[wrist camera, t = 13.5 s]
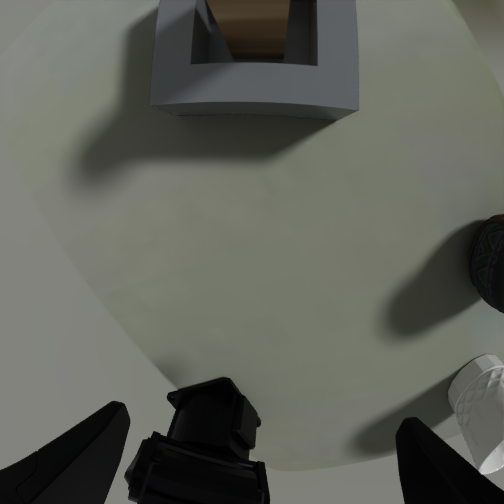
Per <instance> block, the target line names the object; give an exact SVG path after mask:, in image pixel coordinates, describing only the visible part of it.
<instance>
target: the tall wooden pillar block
mask: <svg viewBox="0 0 504 504" xmlns="http://www.w3.org/2000/svg"><path fill="white" fill-rule="evenodd" d="M206 1H207V3H208V5H209V7H210V9H211V11H212V14H213V16H214V18H215V20H216V22H217V24H218V26H219V29H220V31H221V33H222V35H223V37H224V40H225V42H226V44H227V46H228V48H229V51H230V53H231V55H232V57H233V59H250V58H254V59H284V51H285V42H286V33H287V23H288V14H289V5H290V0H206Z"/></svg>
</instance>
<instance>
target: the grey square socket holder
mask: <svg viewBox="0 0 504 504" xmlns="http://www.w3.org/2000/svg"><path fill="white" fill-rule="evenodd" d="M149 106H152V107H155V108H158V109H161V110H163V111H166V112H169V113H172V114H175V115H177V116H181V115H209V114H250V115H278V116H295V117H309V118H320V119H330V120H340V119H342V118H344V117H346V116H348V115H350V114H352V113H354V112H356V111H358V110H359V54H358V30H357V14H356V1H355V0H290V5H289V14H288V23H287V33H286V42H285V51H284V59H254V58H250V59H233V57H232V55H231V53H230V51H229V48H228V46H227V44H226V42H225V40H224V37H223V35H222V33H221V31H220V29H219V26H218V24H217V22H216V20H215V18H214V16H213V14H212V11H211V9H210V7H209V5H208V3H207V1H206V0H160V2H159V9H158V16H157V23H156V31H155V40H154V49H153V60H152V71H151V85H150V102H149Z"/></svg>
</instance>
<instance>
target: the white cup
mask: <svg viewBox="0 0 504 504" xmlns="http://www.w3.org/2000/svg"><path fill="white" fill-rule="evenodd" d="M448 401H449V403H450V405H451V407H452V409H453V411H454V413H455V415H456V419H457V422H458V424H459V426H460V428H461V431H462V434H463V436H464V439H465V441H466V443H467V445H468V448H469V450H470V453H471V455H472V457H473V460H474V462H475V465H476V467H477V470H478V471H479V472H480V473H481V474H483V475H486V474H490V473H492V472H494V471H497V470H499V469H501V468H502V467H504V365H503V363H502V362H501V361H500V360H499V359H498V358H497V357H496V356H495V355H489V354H485V355H482V356H480V357H478V358H476V359H474V360H472V361H471V362H470V363H468V364H467V365H466V366H465V367H464V368H462V369H461V371H460V372H459V373H458V374H457V376H456V377H455V378H454V379H453V381H452V383H451V385H450V388H449V390H448Z"/></svg>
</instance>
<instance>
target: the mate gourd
mask: <svg viewBox="0 0 504 504" xmlns="http://www.w3.org/2000/svg"><path fill="white" fill-rule="evenodd" d="M469 273H470V277H471V281H472V283H473V285H474V286H475V287H476V289H477V291H478V293H479V295H480V296H481V297H482V298H483V299H484V301H486V303H488V305H490V306H491V307H493V308H495V309H497V310H498V311H499V312H502V313H504V214H502V215H494V216H493V217H491V218H490V219H488V220H486V221H485V222H484V223H483V224H482V226H481V227H480V229H479V231H478V233H477V234H476V236H475V238H474V240H473V243H472V245H471V249H470V254H469Z"/></svg>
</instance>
